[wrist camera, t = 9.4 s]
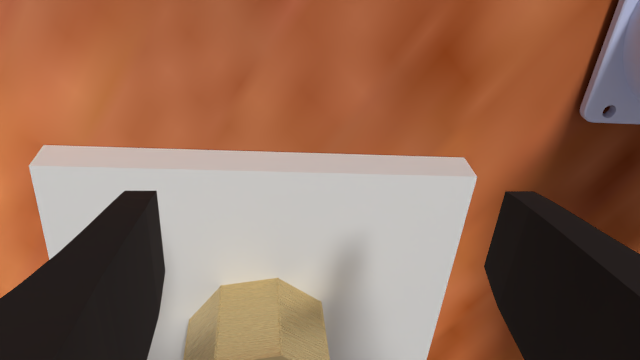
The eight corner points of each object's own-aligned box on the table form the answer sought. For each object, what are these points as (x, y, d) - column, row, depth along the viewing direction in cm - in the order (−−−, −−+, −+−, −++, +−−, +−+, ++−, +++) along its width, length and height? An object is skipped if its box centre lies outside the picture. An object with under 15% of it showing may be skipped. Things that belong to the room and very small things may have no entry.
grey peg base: (464, 157, 22) (527, 252, 17) (399, 409, 30) (428, 524, 25) (43, 145, 20) (-31, 248, 15) (98, 419, 28) (62, 547, 23)
